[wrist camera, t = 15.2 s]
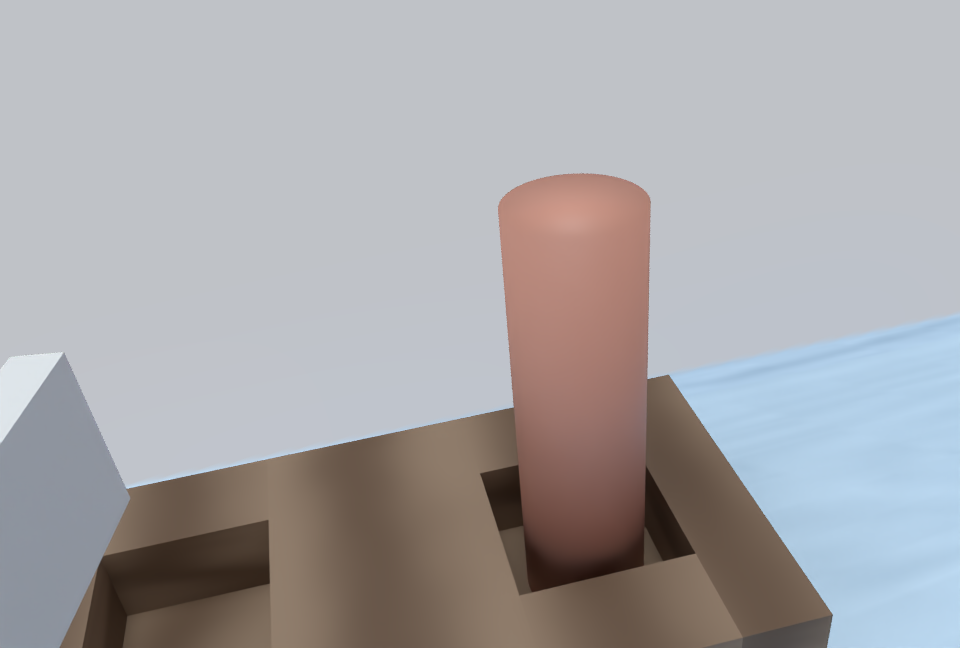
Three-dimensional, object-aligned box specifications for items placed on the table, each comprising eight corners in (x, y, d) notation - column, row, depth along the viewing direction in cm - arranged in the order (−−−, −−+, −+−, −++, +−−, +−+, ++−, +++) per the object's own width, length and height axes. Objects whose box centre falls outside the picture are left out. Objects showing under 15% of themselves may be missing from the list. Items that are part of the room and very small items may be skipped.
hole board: (666, 451, 37) (668, 374, 35) (817, 701, 27) (832, 614, 25) (72, 584, 34) (34, 508, 32) (-1, 918, 24) (-63, 841, 22)
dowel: (653, 543, 32) (663, 178, 25) (629, 632, 29) (632, 245, 22) (546, 522, 33) (524, 169, 26) (511, 604, 30) (476, 230, 23)
